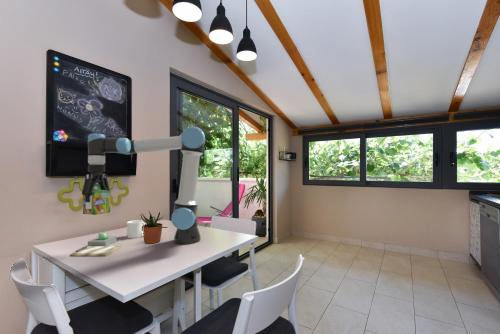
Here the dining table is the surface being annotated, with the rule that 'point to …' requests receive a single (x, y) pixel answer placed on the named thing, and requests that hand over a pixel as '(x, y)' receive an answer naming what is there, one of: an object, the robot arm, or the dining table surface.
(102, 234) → the button
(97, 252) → the clipboard
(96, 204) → the chalk box
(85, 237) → the dining table surface
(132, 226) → the mug
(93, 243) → the button base
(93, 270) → the dining table surface
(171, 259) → the dining table surface
